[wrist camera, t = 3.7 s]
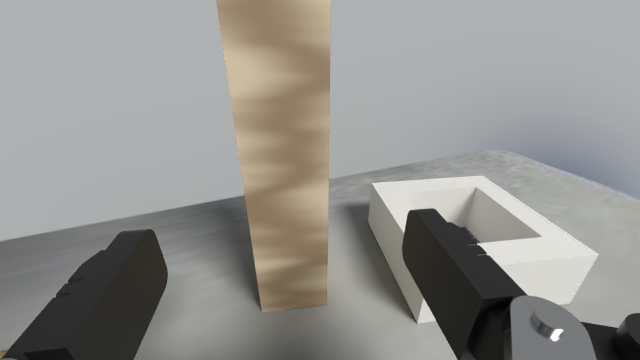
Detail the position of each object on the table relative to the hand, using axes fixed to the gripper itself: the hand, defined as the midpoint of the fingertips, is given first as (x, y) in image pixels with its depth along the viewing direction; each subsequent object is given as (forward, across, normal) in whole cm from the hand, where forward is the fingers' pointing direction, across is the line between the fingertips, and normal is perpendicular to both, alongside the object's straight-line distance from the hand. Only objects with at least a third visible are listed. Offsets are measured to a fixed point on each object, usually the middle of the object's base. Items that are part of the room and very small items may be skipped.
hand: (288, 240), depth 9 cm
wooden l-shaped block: (+8, 0, +9) cm, 12 cm away
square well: (+8, -12, +9) cm, 17 cm away
